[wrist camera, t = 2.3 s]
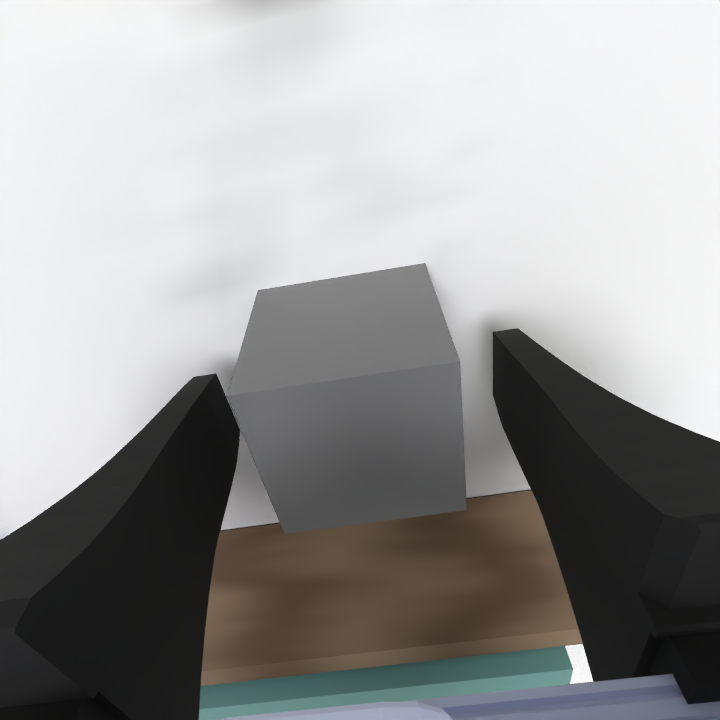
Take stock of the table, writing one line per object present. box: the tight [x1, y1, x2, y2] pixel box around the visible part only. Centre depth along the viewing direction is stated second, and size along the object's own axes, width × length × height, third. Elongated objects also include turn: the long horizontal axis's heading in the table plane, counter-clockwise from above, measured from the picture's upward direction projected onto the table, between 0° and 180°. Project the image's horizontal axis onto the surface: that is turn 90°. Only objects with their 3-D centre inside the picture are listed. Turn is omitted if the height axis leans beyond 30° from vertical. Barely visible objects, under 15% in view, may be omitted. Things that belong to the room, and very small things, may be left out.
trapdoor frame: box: [201, 490, 583, 686], centre depth 21 cm, size 20×15×5 cm
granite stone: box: [227, 263, 467, 534], centre depth 12 cm, size 4×4×4 cm
